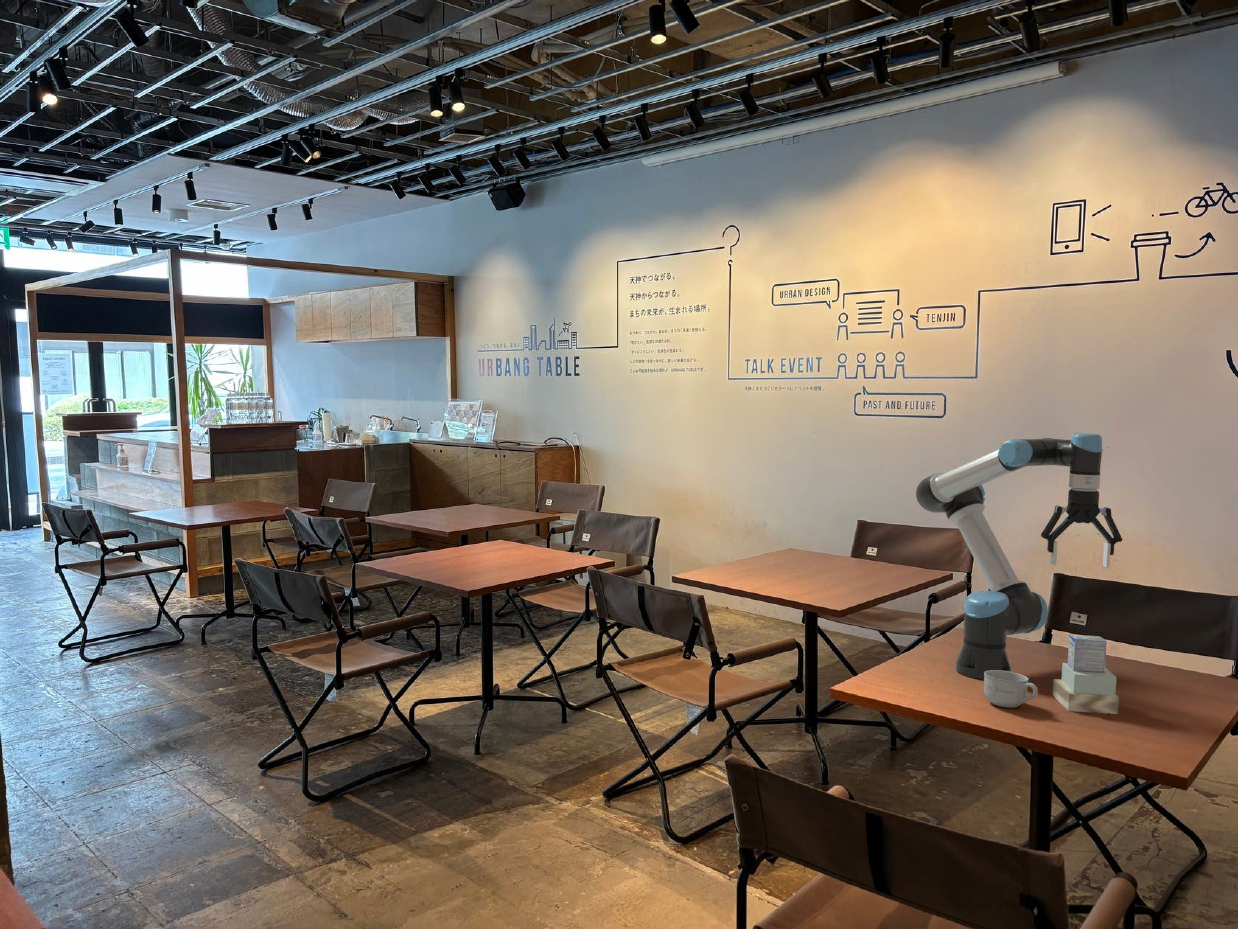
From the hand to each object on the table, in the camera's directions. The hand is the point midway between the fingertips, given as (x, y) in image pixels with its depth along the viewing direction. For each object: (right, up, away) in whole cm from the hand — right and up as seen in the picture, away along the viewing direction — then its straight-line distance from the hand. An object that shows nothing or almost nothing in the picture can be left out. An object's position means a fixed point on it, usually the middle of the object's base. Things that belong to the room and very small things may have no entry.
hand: (1079, 565), depth 242 cm
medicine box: (-5, -26, -12) cm, 29 cm away
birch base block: (-4, -36, -11) cm, 38 cm away
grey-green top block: (-4, -31, -12) cm, 33 cm away
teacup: (-25, -36, -13) cm, 46 cm away
